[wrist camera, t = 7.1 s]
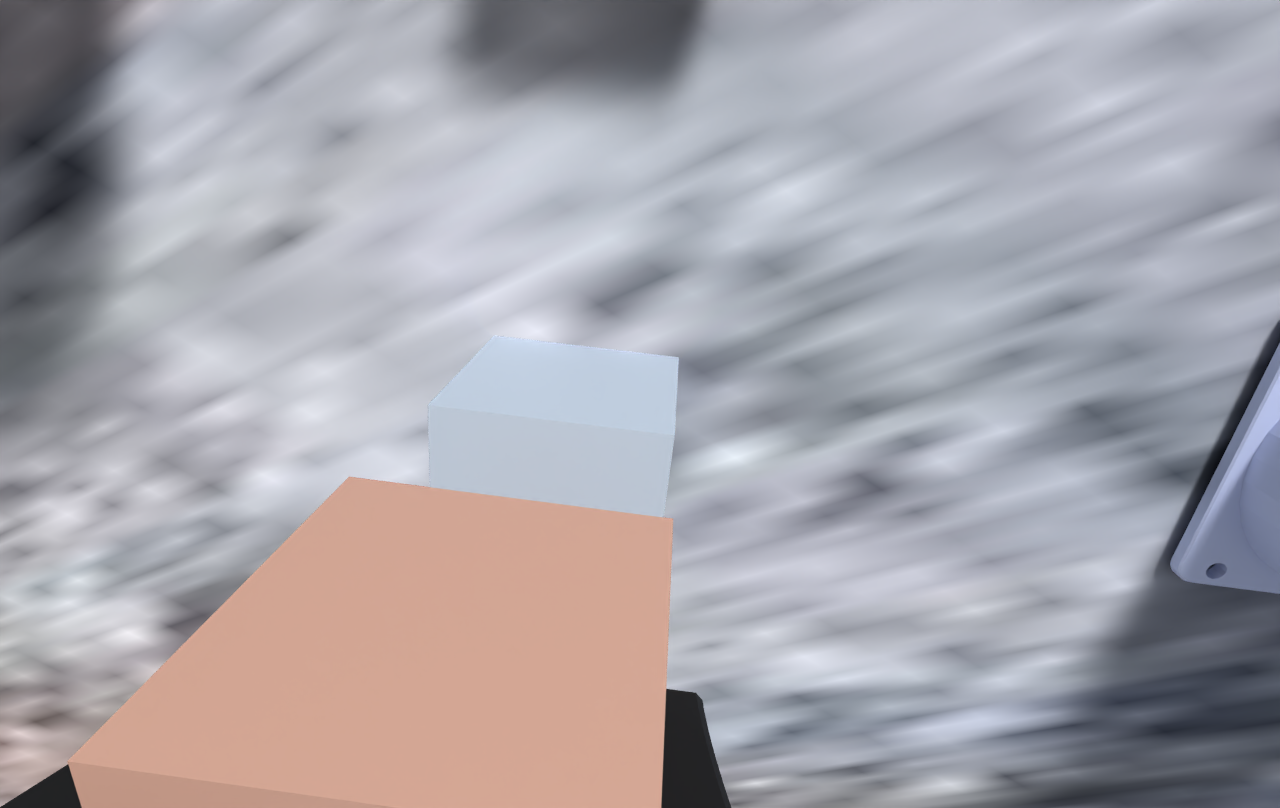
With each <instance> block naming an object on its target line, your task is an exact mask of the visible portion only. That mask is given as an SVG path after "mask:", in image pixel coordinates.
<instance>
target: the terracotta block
mask: <svg viewBox="0 0 1280 808" xmlns="http://www.w3.org/2000/svg"><path fill="white" fill-rule="evenodd" d="M672 534H673V519H671V518H664V517H656V516H648V515H640V514H633V513H625V512H617V511H610V510H602V509H594V508H586V507H579V506H571V505H563V504H556V503H548V502H540V501H532V500H525V499H517V498H509V497H502V496H494V495H486V494H478V493H471V492H463V491H455V490H448V489H440V488H432V487H424V486H417V485H409V484H401V483H394V482H386V481H378V480H370V479H363V478H355V477H348V478H347V479H346V480H345V481H344V482H343V483H342V484H341V485H340V486H339V487H338V488H337V489H336V490H335V491H334V492H333V493H332V494H331V496H330V497H329V498H328V499H327V500H326V501H325V502H324V503H323V504H322V505H321V506H320V507H319V508H318V509H317V510H316V511H315V512H314V513H313V514H312V515H311V516H310V517H309V518H308V519H307V520H306V521H305V522H304V523H303V524H302V525H301V526H300V527H299V528H298V529H297V530H296V531H295V532H294V533H293V534H292V535H291V536H290V537H289V538H288V539H287V540H286V541H285V542H284V543H283V544H282V545H281V546H280V547H279V548H278V549H277V550H276V551H275V552H274V553H273V554H272V555H271V556H270V557H269V558H268V559H267V560H266V561H265V562H264V563H263V564H262V565H261V566H260V567H259V568H258V569H257V570H256V571H255V572H254V573H253V574H252V575H251V576H250V577H249V578H248V579H247V580H246V581H245V582H244V583H243V584H242V585H241V586H240V587H239V588H238V589H237V591H236V592H235V593H234V594H233V595H232V596H231V597H230V598H229V599H228V600H227V601H226V602H225V603H224V604H223V605H222V606H221V607H220V608H219V609H218V610H217V611H216V612H215V613H214V614H213V615H212V616H211V617H210V618H209V619H208V620H207V621H206V622H205V623H204V624H203V625H202V626H201V627H200V628H199V629H198V630H197V631H196V632H195V633H194V634H193V635H192V636H191V637H190V638H189V639H188V640H187V641H186V642H185V643H184V644H183V645H182V646H181V647H180V648H179V649H178V650H177V651H176V652H175V653H174V654H173V655H172V656H171V657H170V658H169V659H168V660H167V661H166V662H165V663H164V664H163V665H162V666H161V667H160V668H159V669H158V670H157V671H156V672H155V673H154V674H153V675H152V676H151V677H150V678H149V679H148V680H147V681H146V682H145V683H144V684H143V685H142V687H141V688H140V689H139V690H138V691H137V692H136V693H135V694H134V695H133V696H132V697H131V698H130V699H129V700H128V701H127V702H126V703H125V704H124V705H123V706H122V707H121V708H120V709H119V710H118V711H117V712H116V713H115V714H114V715H113V716H112V717H111V718H110V719H109V720H108V721H107V722H106V723H105V724H104V725H103V726H102V727H101V728H100V729H99V730H98V731H97V732H96V733H95V734H94V735H93V736H92V737H91V738H90V739H89V740H88V741H87V742H86V743H85V744H84V745H83V746H82V747H81V748H80V749H79V750H78V751H77V752H76V753H75V754H74V755H73V756H72V757H71V758H70V759H69V760H68V761H67V762H68V765H69V768H70V771H71V774H72V778H73V781H74V784H75V787H76V791H77V794H78V797H79V800H80V803H81V807H82V808H661V801H662V777H663V753H664V728H665V704H666V680H667V656H668V631H669V607H670V583H671V559H672Z"/></svg>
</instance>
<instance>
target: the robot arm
mask: <svg viewBox="0 0 1280 808" xmlns="http://www.w3.org/2000/svg"><path fill="white" fill-rule="evenodd" d="M1215 563H1216V564H1215ZM1213 564H1215V565H1214V566H1213V567H1212V568H1210V569H1208V568H1209V567H1210V566H1211V565H1213ZM1170 566H1171V569H1172V571H1173V572H1175V573H1176V574H1177V575H1178V576H1179V577H1180V578H1181V579H1182V580H1184V581H1187V582H1191V583H1199V584H1207V585H1214V586H1222V587H1230V588H1237V589H1245V590H1253V591H1261V592H1268V593H1276V594H1280V343H1279V345H1278V347H1277V349H1276V351H1275V353H1274V355H1273V357H1272V359H1271V361H1270V363H1269V365H1268V367H1267V369H1266V371H1265V373H1264V375H1263V377H1262V379H1261V381H1260V383H1259V385H1258V387H1257V389H1256V391H1255V393H1254V395H1253V397H1252V399H1251V401H1250V403H1249V405H1248V407H1247V409H1246V411H1245V413H1244V415H1243V417H1242V419H1241V421H1240V423H1239V425H1238V427H1237V429H1236V431H1235V433H1234V435H1233V437H1232V439H1231V441H1230V443H1229V445H1228V447H1227V449H1226V451H1225V453H1224V455H1223V457H1222V459H1221V461H1220V463H1219V465H1218V467H1217V469H1216V471H1215V473H1214V475H1213V477H1212V479H1211V481H1210V483H1209V485H1208V487H1207V489H1206V491H1205V493H1204V495H1203V497H1202V499H1201V501H1200V503H1199V505H1198V507H1197V509H1196V511H1195V513H1194V515H1193V517H1192V519H1191V521H1190V523H1189V525H1188V527H1187V529H1186V531H1185V533H1184V535H1183V537H1182V539H1181V541H1180V543H1179V545H1178V547H1177V549H1176V551H1175V553H1174V555H1173V557H1172V559H1171V563H1170ZM1207 569H1208V570H1207ZM0 808H82V807H81V803H80V800H79V797H78V794H77V791H76V787H75V784H74V781H73V778H72V774H71V771H70V768H69V765H66V766H65V767H63V768H62V769H60V770H58V771H57V772H55V773H54V774H52V775H50V776H49V777H47V778H46V779H44V780H43V781H41V782H39V783H38V784H36V785H35V786H33V787H32V788H30V789H28V790H27V791H25V792H24V793H22V794H20V795H19V796H17V797H16V798H14V799H13V800H11V801H9V802H8V803H6V804H5V805H3V806H1V807H0ZM661 808H731V805H730V802H729V799H728V796H727V793H726V790H725V787H724V784H723V781H722V777H721V774H720V771H719V768H718V764H717V761H716V758H715V754H714V750H713V747H712V743H711V739H710V735H709V731H708V727H707V722H706V718H705V713H704V708H703V701H702V699H701V698H700V697H699V696H698V695H697V694H696V693H693V692H685V691H678V690H671V689H666V704H665V728H664V753H663V777H662V801H661Z"/></svg>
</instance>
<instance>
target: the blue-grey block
mask: <svg viewBox="0 0 1280 808" xmlns="http://www.w3.org/2000/svg"><path fill="white" fill-rule="evenodd" d="M678 362H679V357H671V356H663V355H655V354H646V353H638V352H629V351H621V350H612V349H604V348H596V347H587V346H579V345H570V344H562V343H554V342H545V341H537V340H528V339H520V338H511V337H503V336H495V335H494V336H493V337H492V338H491V339H490V341H489V342H488V343H487V344H486V345H485V346H484V347H483V348H482V349H481V350H480V351H479V352H478V353H477V354H476V355H475V356H474V357H473V358H472V359H471V360H470V361H469V362H468V364H467V365H466V366H465V367H464V368H463V369H462V370H461V371H460V372H459V373H458V374H457V375H456V376H455V377H454V378H453V379H452V380H451V381H450V382H449V383H448V384H447V385H446V387H445V388H444V389H443V390H442V391H441V392H440V393H439V394H438V395H437V396H436V397H435V398H434V399H433V400H432V401H431V402H430V403H429V404H428V435H429V478H430V487H432V488H440V489H448V490H455V491H463V492H471V493H478V494H486V495H494V496H502V497H509V498H517V499H525V500H532V501H540V502H548V503H556V504H563V505H571V506H579V507H586V508H594V509H602V510H610V511H617V512H625V513H633V514H640V515H648V516H656V517H664V511H665V503H666V496H667V488H668V481H669V473H670V466H671V459H672V451H673V444H674V436H675V419H676V400H677V381H678Z"/></svg>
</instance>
